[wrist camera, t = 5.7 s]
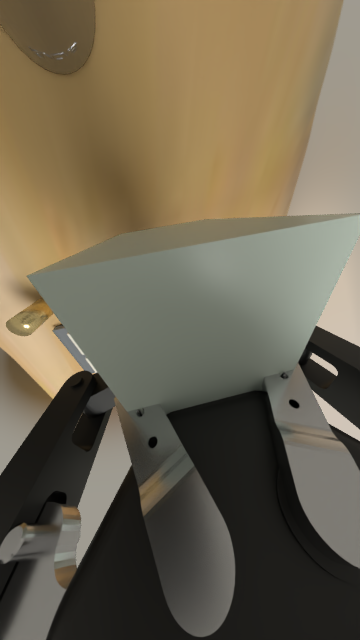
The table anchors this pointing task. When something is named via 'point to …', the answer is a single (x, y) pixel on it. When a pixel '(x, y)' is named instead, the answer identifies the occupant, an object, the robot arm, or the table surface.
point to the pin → (29, 318)
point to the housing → (199, 303)
